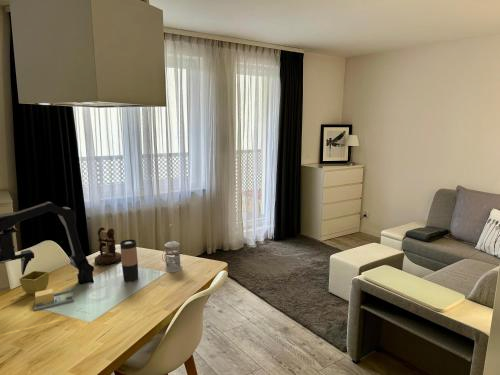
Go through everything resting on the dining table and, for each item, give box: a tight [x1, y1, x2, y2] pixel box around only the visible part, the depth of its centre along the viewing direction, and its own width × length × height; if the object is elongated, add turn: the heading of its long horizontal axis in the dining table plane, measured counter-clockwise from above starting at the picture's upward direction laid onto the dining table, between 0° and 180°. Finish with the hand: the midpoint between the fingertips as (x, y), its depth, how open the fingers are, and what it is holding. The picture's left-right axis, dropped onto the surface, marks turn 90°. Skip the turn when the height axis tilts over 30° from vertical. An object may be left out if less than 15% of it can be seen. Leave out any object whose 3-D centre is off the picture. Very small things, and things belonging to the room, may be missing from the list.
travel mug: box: [119, 239, 139, 283], centre depth 176 cm, size 8×8×20 cm
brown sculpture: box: [94, 227, 121, 266], centre depth 200 cm, size 15×15×20 cm
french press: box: [161, 224, 183, 273], centre depth 187 cm, size 10×12×25 cm
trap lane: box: [34, 289, 75, 311], centre depth 156 cm, size 15×11×1 cm
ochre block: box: [34, 288, 55, 304], centre depth 155 cm, size 7×5×4 cm
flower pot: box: [18, 270, 50, 296], centre depth 163 cm, size 9×9×9 cm
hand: (10, 278), depth 150 cm, fingers open, 9 cm apart
